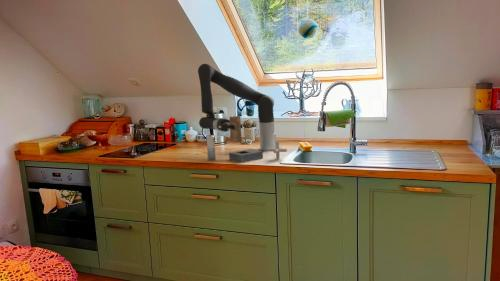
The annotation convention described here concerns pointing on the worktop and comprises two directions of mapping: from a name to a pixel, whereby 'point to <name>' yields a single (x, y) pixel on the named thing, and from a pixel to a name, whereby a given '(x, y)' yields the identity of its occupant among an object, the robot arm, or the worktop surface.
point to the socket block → (246, 155)
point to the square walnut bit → (235, 133)
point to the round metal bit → (211, 147)
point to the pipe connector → (277, 150)
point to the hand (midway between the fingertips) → (238, 126)
